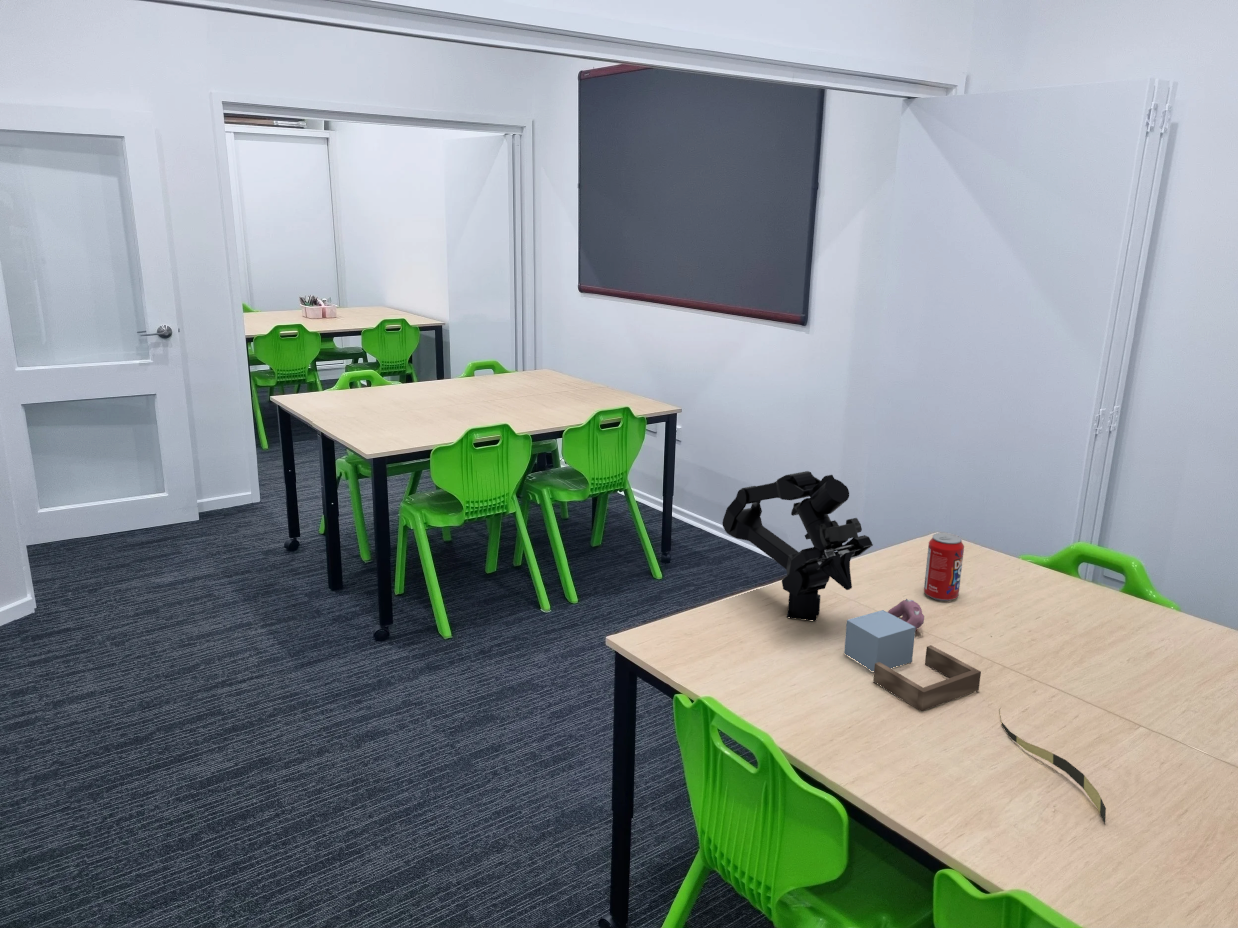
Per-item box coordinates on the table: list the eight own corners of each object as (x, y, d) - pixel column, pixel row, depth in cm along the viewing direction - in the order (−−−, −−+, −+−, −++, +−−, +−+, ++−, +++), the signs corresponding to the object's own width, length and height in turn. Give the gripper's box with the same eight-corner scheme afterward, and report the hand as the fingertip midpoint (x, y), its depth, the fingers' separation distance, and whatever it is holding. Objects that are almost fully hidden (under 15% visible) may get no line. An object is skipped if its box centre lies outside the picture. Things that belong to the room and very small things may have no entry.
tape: (1069, 829, 133) (1072, 808, 132) (977, 695, 169) (978, 677, 168) (1110, 828, 133) (1113, 807, 132) (1008, 694, 169) (1010, 676, 168)
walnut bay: (873, 681, 173) (874, 663, 172) (929, 662, 180) (930, 644, 179) (921, 711, 163) (923, 692, 161) (978, 690, 170) (981, 671, 169)
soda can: (916, 591, 213) (922, 533, 209) (944, 587, 216) (950, 529, 212) (936, 605, 206) (943, 544, 202) (965, 600, 209) (972, 541, 204)
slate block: (844, 654, 183) (846, 619, 181) (879, 644, 188) (883, 609, 186) (875, 674, 176) (878, 637, 174) (911, 662, 180) (915, 626, 178)
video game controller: (914, 643, 191) (931, 617, 189) (896, 635, 191) (913, 608, 189) (901, 623, 201) (917, 598, 199) (883, 614, 200) (900, 589, 198)
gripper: (803, 513, 182) (836, 582, 176) (870, 500, 191) (904, 565, 185) (777, 537, 191) (807, 603, 185) (842, 523, 199) (873, 585, 193)
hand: (849, 589), depth 187 cm, fingers closed
